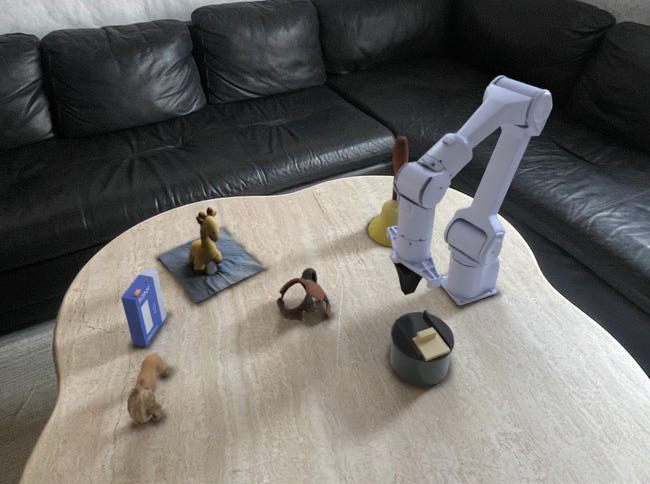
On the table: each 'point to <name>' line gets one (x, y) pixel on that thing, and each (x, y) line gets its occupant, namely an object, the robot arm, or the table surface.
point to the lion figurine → (146, 390)
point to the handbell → (391, 206)
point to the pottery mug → (307, 305)
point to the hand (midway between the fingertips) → (408, 291)
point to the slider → (430, 344)
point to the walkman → (144, 306)
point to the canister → (409, 357)
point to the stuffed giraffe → (209, 260)
